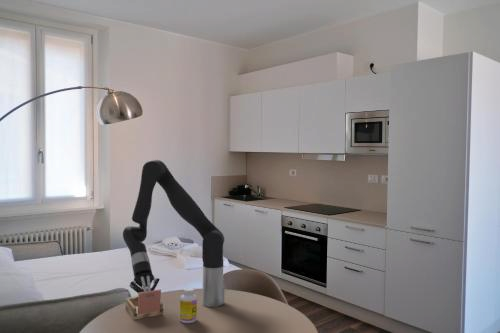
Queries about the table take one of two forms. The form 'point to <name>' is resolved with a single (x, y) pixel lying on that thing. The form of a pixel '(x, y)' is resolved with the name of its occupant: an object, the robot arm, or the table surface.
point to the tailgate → (149, 301)
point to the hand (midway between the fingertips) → (148, 301)
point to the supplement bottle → (188, 305)
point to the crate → (133, 309)
